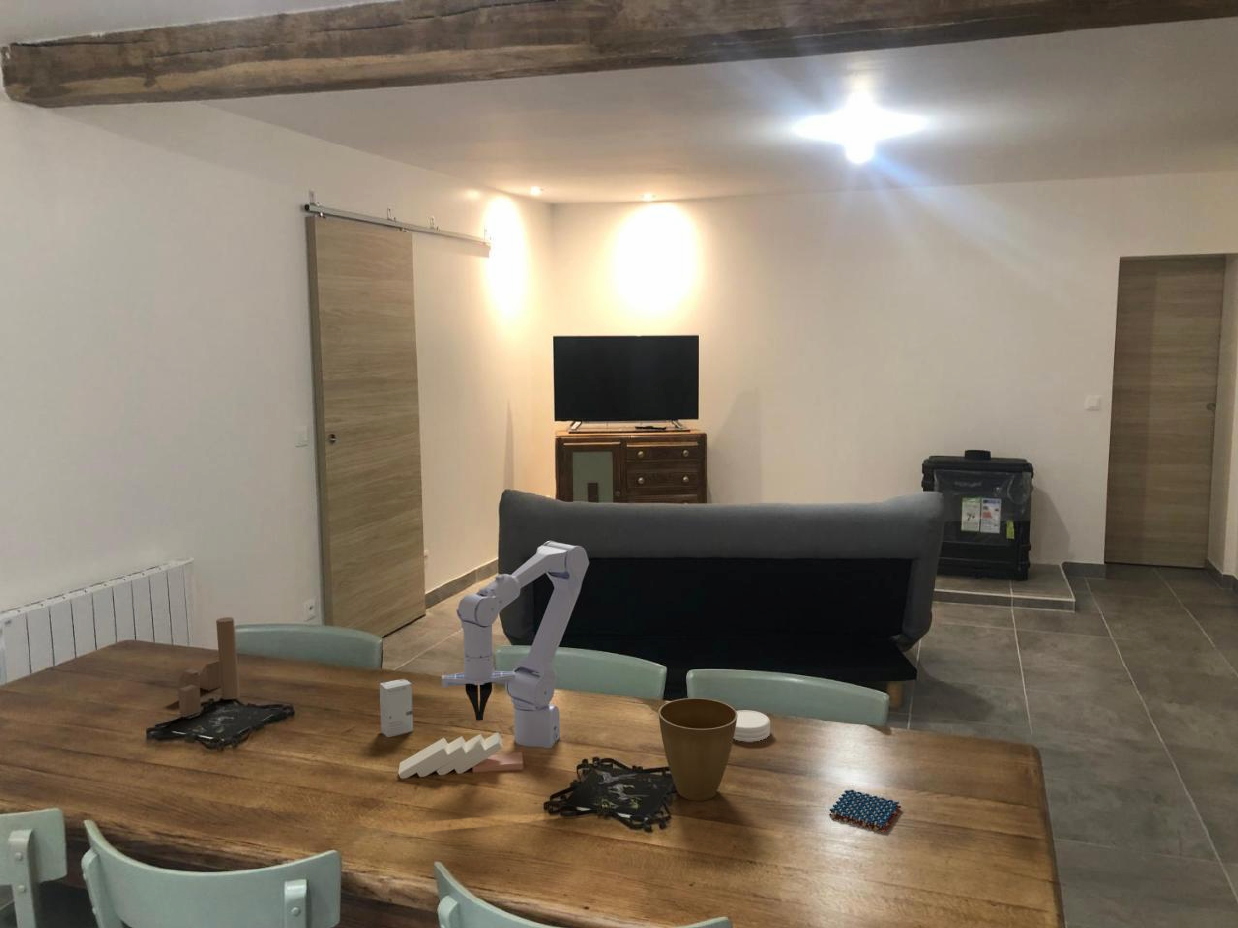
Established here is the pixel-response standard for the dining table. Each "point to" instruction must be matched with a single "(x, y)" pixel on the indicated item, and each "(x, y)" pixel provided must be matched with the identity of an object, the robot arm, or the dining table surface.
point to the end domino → (500, 762)
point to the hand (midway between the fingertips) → (479, 718)
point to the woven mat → (865, 810)
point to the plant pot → (697, 744)
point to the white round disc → (751, 726)
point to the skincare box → (396, 707)
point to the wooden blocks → (212, 672)
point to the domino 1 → (423, 758)
